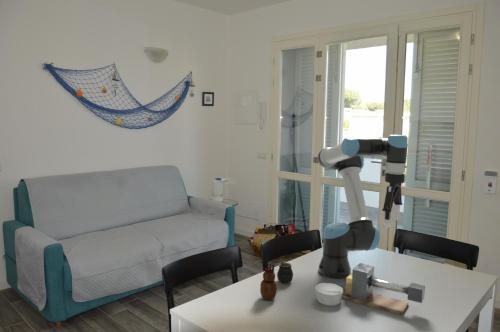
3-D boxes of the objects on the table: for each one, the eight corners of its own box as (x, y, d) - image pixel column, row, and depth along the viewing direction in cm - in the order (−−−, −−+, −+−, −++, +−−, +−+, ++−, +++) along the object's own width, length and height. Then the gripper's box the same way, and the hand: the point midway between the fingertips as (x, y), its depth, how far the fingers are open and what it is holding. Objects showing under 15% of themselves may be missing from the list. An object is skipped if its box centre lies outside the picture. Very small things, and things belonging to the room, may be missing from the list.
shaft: (355, 286, 159) (356, 274, 159) (359, 282, 163) (360, 270, 163) (421, 303, 145) (422, 290, 145) (424, 298, 150) (425, 285, 149)
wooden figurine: (278, 296, 161) (279, 261, 159) (274, 302, 156) (275, 266, 154) (262, 294, 163) (263, 259, 161) (258, 299, 158) (259, 263, 156)
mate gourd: (285, 286, 171) (285, 264, 170) (273, 281, 177) (273, 259, 176) (296, 282, 176) (296, 260, 175) (284, 277, 182) (284, 256, 181)
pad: (339, 294, 162) (339, 293, 161) (346, 286, 169) (346, 286, 169) (351, 297, 159) (351, 296, 159) (358, 289, 166) (358, 289, 166)
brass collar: (345, 294, 161) (346, 277, 160) (351, 288, 167) (352, 272, 166) (351, 295, 160) (352, 279, 159) (357, 289, 165) (358, 273, 165)
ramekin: (326, 309, 151) (326, 296, 150) (308, 298, 161) (309, 285, 160) (348, 304, 156) (349, 291, 155) (330, 292, 166) (331, 281, 165)
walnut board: (336, 296, 162) (336, 294, 162) (345, 288, 170) (345, 285, 170) (402, 315, 147) (402, 312, 147) (408, 305, 156) (408, 302, 155)
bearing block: (351, 297, 159) (352, 269, 157) (358, 289, 166) (359, 263, 165) (365, 301, 155) (367, 272, 154) (372, 293, 163) (374, 266, 161)
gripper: (397, 177, 147) (393, 232, 150) (411, 170, 168) (407, 218, 171) (377, 175, 151) (373, 228, 154) (393, 168, 172) (390, 215, 175)
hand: (391, 223), depth 163 cm, fingers open, 13 cm apart
